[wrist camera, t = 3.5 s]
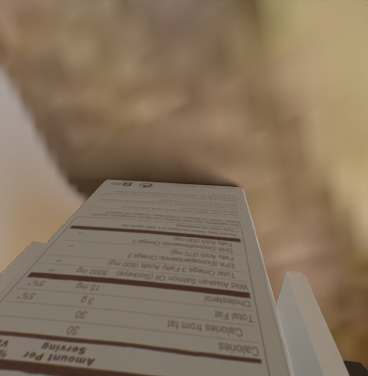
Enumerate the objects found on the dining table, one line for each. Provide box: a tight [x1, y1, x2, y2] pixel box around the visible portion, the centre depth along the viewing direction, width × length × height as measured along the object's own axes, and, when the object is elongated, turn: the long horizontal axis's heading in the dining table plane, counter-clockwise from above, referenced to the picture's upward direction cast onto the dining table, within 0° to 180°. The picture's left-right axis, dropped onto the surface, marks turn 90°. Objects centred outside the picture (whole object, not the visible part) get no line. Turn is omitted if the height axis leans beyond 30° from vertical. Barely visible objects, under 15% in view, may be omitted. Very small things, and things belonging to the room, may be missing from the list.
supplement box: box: [0, 180, 294, 376], centre depth 10 cm, size 7×7×13 cm
